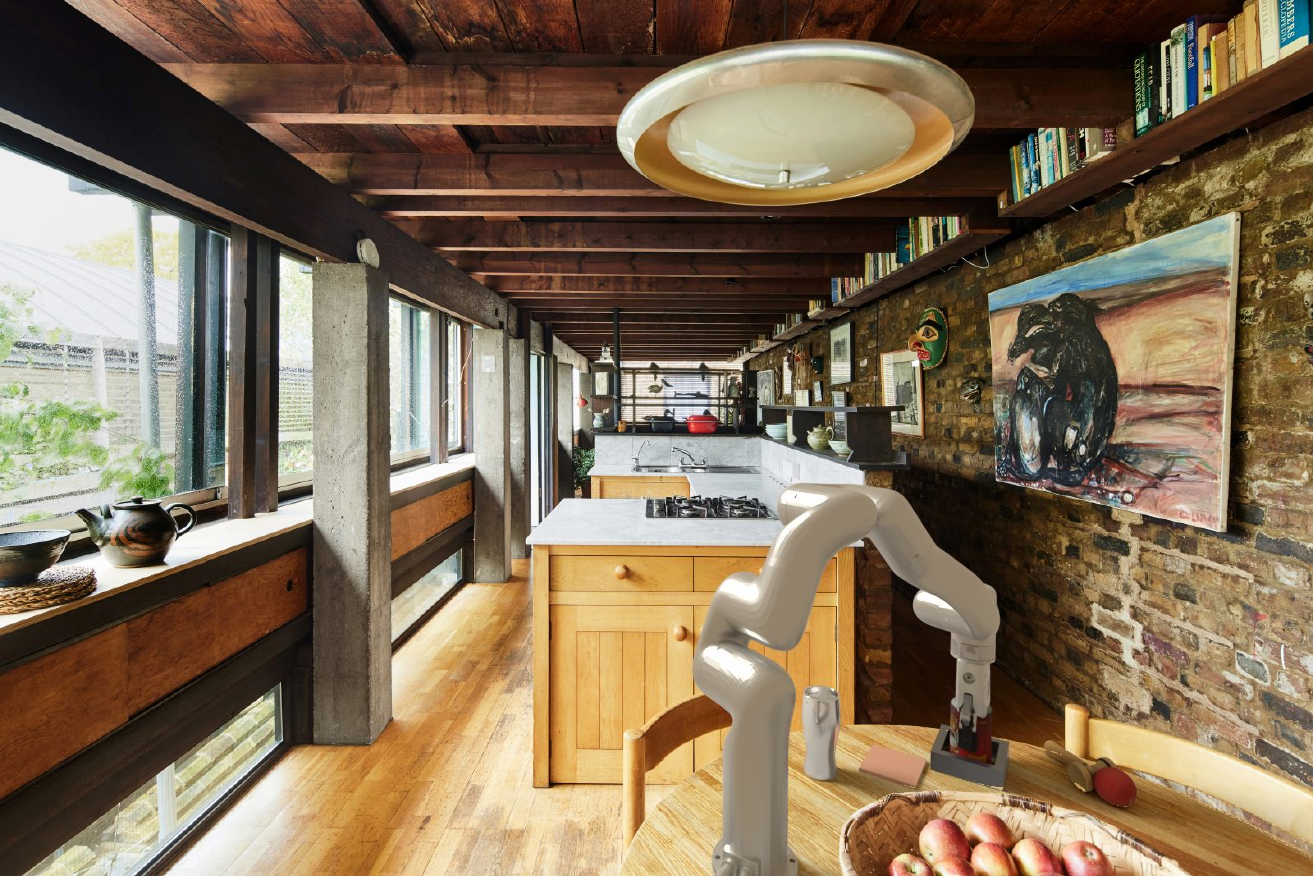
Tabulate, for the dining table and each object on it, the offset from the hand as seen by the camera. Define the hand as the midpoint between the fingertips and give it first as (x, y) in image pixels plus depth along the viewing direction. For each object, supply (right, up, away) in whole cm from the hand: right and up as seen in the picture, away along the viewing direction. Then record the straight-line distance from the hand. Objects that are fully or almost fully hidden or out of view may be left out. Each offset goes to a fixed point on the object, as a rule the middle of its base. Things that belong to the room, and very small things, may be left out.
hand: (970, 739), depth 117 cm
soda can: (0, -5, 0) cm, 5 cm away
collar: (0, -5, 0) cm, 5 cm away
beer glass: (-29, -5, -2) cm, 30 cm away
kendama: (+18, -5, -5) cm, 20 cm away
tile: (-15, -5, -1) cm, 16 cm away
